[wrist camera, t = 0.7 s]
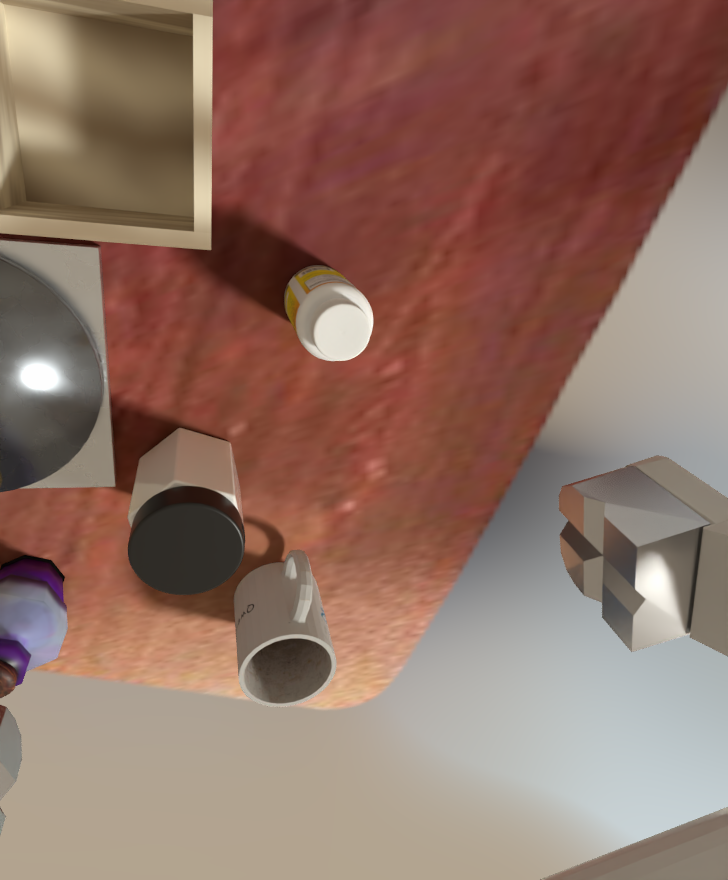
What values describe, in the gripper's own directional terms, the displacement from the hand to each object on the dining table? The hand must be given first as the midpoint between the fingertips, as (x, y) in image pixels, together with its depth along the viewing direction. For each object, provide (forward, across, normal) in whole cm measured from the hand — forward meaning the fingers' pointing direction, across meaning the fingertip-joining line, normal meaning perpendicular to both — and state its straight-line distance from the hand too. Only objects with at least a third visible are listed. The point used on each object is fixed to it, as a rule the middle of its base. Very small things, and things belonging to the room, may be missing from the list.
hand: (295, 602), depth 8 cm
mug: (+42, +4, +34) cm, 54 cm away
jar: (+42, +8, +19) cm, 47 cm away
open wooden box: (+42, +5, -8) cm, 43 cm away
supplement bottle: (+42, -6, +7) cm, 43 cm away
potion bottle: (+42, +25, +26) cm, 55 cm away
